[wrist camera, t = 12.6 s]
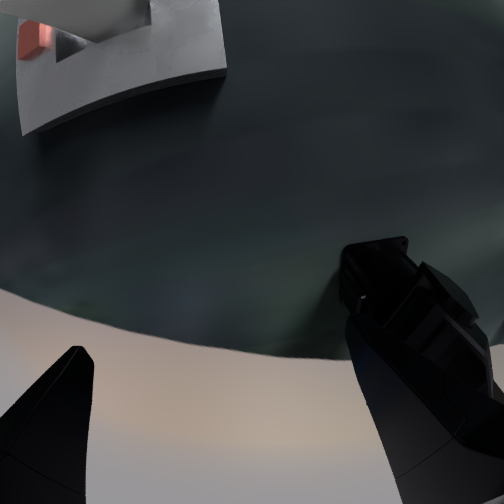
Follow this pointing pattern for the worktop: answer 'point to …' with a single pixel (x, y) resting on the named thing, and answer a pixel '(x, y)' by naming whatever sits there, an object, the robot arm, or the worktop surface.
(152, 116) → the worktop surface
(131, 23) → the plug
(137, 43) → the socket box
